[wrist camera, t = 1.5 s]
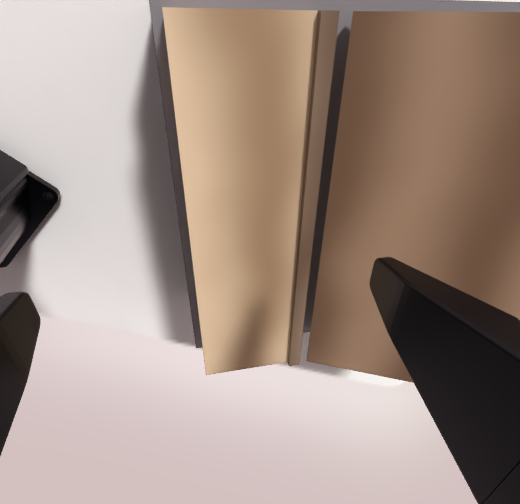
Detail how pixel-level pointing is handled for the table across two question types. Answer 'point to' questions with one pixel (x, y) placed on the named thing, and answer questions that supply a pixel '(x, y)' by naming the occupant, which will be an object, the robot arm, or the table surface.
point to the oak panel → (251, 169)
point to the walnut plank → (420, 173)
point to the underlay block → (346, 4)
